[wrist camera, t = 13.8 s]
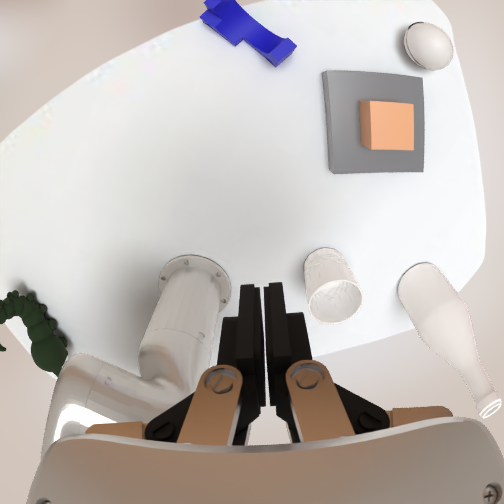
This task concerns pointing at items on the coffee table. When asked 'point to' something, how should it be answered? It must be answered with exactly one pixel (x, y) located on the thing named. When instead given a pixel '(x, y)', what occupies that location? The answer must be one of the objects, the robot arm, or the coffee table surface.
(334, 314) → the white cup
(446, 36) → the white piece
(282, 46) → the cable clip
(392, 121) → the tan block
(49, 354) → the toy figurine
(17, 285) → the coffee table surface
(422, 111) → the flat gray square plate
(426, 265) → the wine bottle
